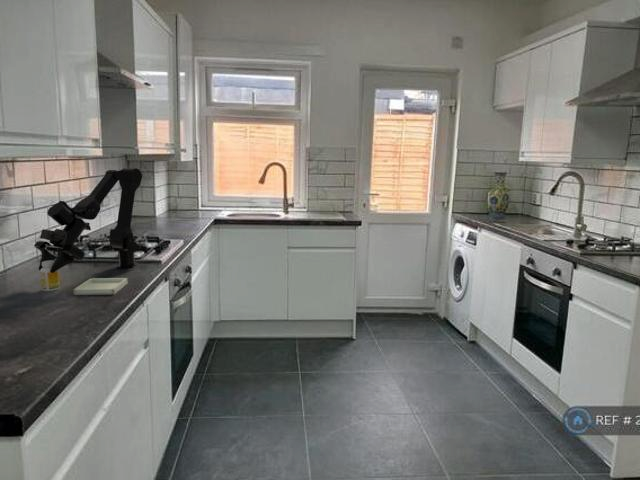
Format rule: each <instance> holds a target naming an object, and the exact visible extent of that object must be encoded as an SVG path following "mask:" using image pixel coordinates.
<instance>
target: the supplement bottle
mask: <svg viewBox="0 0 640 480" xmlns="http://www.w3.org/2000/svg"><path fill="white" fill-rule="evenodd" d="M55 261H56V260H54V261H53V260H49V261H44V262H42V267H43V268H42V269H41V270H39V272H40V283H41V290H42V291H43V292H53V291H57V290H59V289H60V288H61V284H60V283H61V282H60V281H61V280H60V274H59V270H57V271H55V272H54V273H51V272H50V270H51V268H52V266H53V264H54V262H55Z"/></svg>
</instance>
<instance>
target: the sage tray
mask: <svg viewBox="0 0 640 480" xmlns="http://www.w3.org/2000/svg"><path fill="white" fill-rule="evenodd" d="M127 284H129V277H108V278H107V277H105V278H104V277H102V278H101V277H99V278H98V277H97V278H96V277H93V278H92V277H91V278H90V277H89V279H87V280H86V281H84V282H83V283H81V284H80V285H78V286H77V287H75V288H73V295H74V296H81V295H82V296H88V295H90V296H92V295H94V296H95V295H96V296H97V295H98V296H99V295H102V296H103V295H104V296H105V295H106V296H107V295H116V294H117V293H118V292H119V291H121V290H122V288H124V287H126V285H127Z"/></svg>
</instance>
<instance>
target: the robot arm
mask: <svg viewBox="0 0 640 480" xmlns="http://www.w3.org/2000/svg"><path fill="white" fill-rule="evenodd" d="M142 179H143V173H142V172H141V170H140V169H139V168H137V167H133V168H132V167H124V168H122V169H120V170H117V169H108V170H106V171H105V175H104V176H102V178H101V179H100V181H99V182H98V183H97V185H96V186H95V187H94V188H93V190H92V191H91V192H90V193H89V194H88V195H87V196H86V197H84V198H82V199H81V200H79V201H78V202H77V203H76V204H75V205H74V206H72V207H71V206H70V205H68V204H67V202H66V201H65V200H59V201H58V202H57V203H54V204H53V205H52V206H50V207H49V208H48V210H47V211H46V212H47V213H46V214H47V216H49V217H50V218H51V219H52V220H53V221H55V222H56V223H57V224H58V225H60V226H64V227H63V228H62V229H60V228H55V229H54V230H51V229H45V228H43V229H41V232H40V236H39V239H41V240H38V241H36V242H35V243H34V246H33V247H34V248H36V249H37V250H39V251H40V253H41V256H40V257H41V258H40V262H39V265H38V270H39V271H40V270H41V269H42V268H43V267H42V262H44V261H49V260H53V261H55V262H54V264H53V266H52V268H51V270H50V272H51V273H54V272H55V271H57V270H58V271H59V270H61V269H62V268H63V267H65V266H67V265H69V264H71V263H72V262H75V261H76V260H77V261H83V260H84V259H85V257H86V254H85V252H84V251H83V250H82V249H81V247H79V246H77V245H76V244H79V243H80V240H79V238H80V237H81V235H82V233H83V232H84V231H91V229H92V228H91V226H90V225H91V224H90V222H87V220H88V221H92V220H95V219H96V218H97V217H98V215H99V213H100V211H101V207H102V206H101V205H102V203H103V201H104V200H105V199H106V197H107V196H108V195H109V193H110V192H111V190H112V189H113V188H114V187H115V185H116V184H117V183H119V185H120V188H121V193H120V201H119V207H118V214H117V221H116V222H117V223H116V226H115V227H114V228H110V230H109V236H108V240H109V244H110V246H111V247H112V249H113V252H118V261H119V263H118V265H116V268H117V269H119V268H122V269H125V268H126V269H127V268H128V269H129V268H131V269H132V268H134V267H136V266H137V265H138V264H139V262H135V253H136V252H138V251H139V250H140V249H139V248H140V245H139V244H138V243H137V242H136V241H135V240H134V233H133V231H132V228H131V226H132V225H131V223H132V217H133V209H134V201H135V196H136V191H137V190H138V188H139V187H140V186H141V182H142ZM84 220H86V221H84ZM44 240H45V241H44ZM46 240H47V241H46ZM48 241H49V242H48ZM56 253H57V256H55V255H56Z"/></svg>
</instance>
